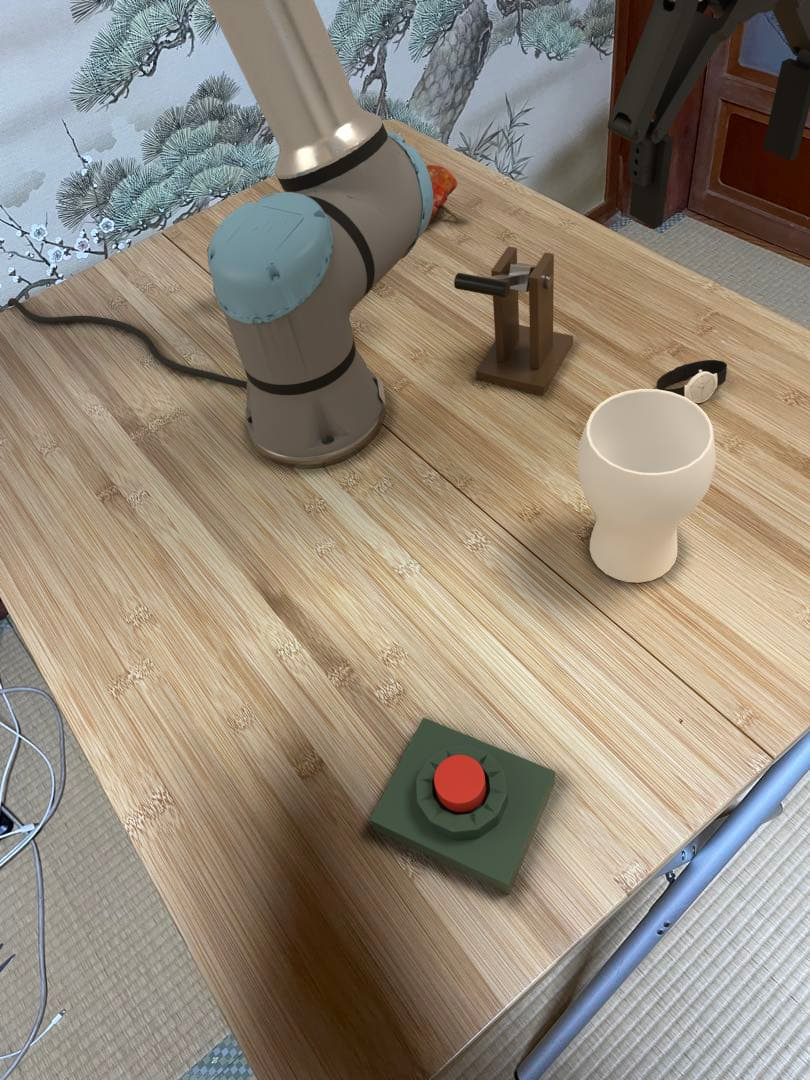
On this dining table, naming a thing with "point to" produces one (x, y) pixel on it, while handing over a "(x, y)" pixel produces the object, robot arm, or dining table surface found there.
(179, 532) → the dining table surface
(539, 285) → the bracket
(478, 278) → the lever
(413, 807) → the button box
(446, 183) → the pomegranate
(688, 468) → the cup
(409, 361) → the dining table surface
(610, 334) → the dining table surface
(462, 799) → the button
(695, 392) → the watch
